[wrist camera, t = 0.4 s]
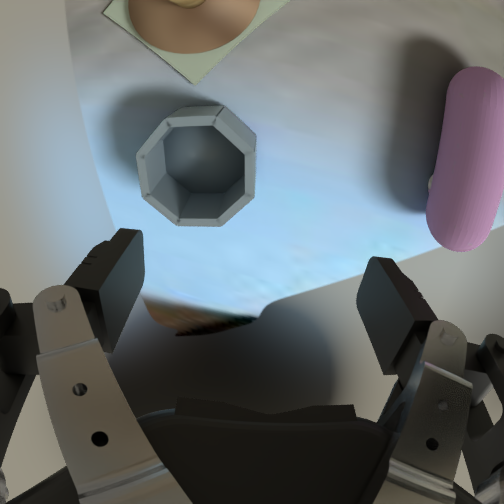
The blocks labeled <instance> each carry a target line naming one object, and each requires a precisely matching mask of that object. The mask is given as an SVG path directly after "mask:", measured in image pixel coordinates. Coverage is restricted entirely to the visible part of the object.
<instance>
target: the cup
mask: <svg viewBox="0 0 504 504" xmlns="http://www.w3.org/2000/svg"><path fill="white" fill-rule="evenodd" d="M136 161H137V168H138V175H139V181H140V187H141V194H142V197H143V199H144V200H145V201H147V202H148V203H149V204H150V205H151V206H153V207H154V208H155V209H156V210H158V211H159V212H160V213H161V214H162V215H164V216H165V217H166V218H167V219H169V220H170V221H171V222H172V223H173V224H175V225H177V226H208V227H221V226H223V225H224V224H225V223H226V222H227V221H228V220H230V219H231V218H232V217H233V216H234V215H235V214H236V213H237V212H239V211H240V210H241V209H242V208H243V207H244V206H245V205H247V204H248V203H249V202H250V201H251V200H252V199H253V198H254V197H255V182H256V134H255V133H254V132H253V131H252V130H251V129H250V128H249V127H248V126H247V125H246V124H245V123H244V122H242V121H241V120H240V119H239V118H238V117H237V116H236V115H235V114H234V113H233V112H232V111H231V110H230V109H228V108H227V107H226V106H225V107H224V105H220V106H194V107H182V108H180V109H178V110H177V111H175V112H174V113H172V114H171V115H169V116H168V117H166V118H165V119H164V120H163V121H162V122H161V124H160V125H159V126H158V127H157V128H156V129H155V131H154V132H153V133H152V134H151V136H150V137H149V138H148V139H147V140H146V142H145V143H144V144H143V145H142V147H141V148H140V149H139V151H138V152H137V153H136ZM166 171H167V172H166Z"/></svg>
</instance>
